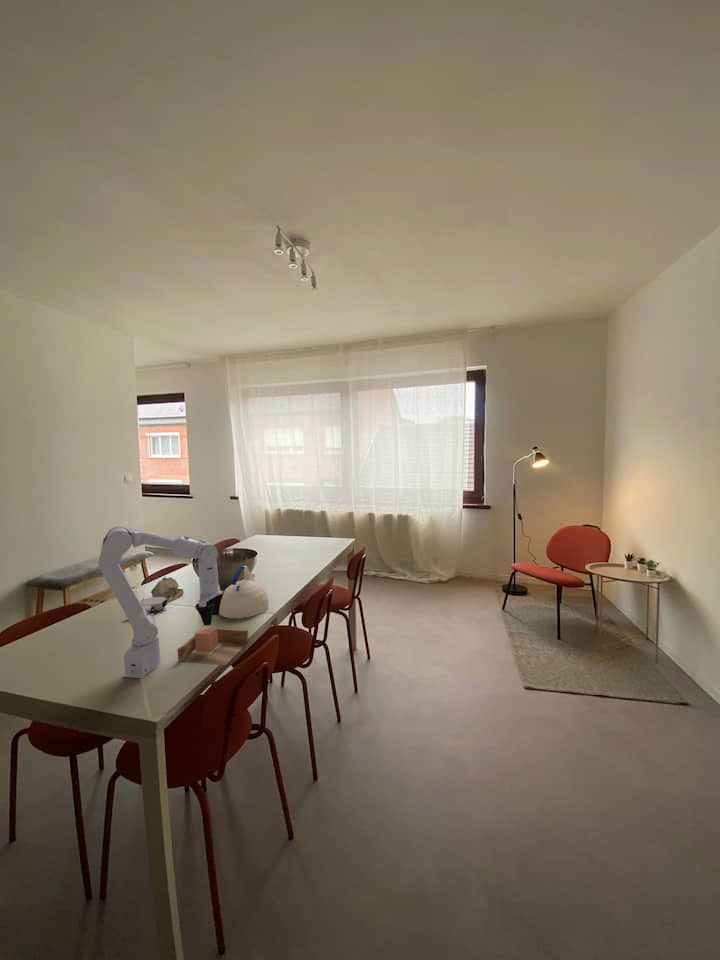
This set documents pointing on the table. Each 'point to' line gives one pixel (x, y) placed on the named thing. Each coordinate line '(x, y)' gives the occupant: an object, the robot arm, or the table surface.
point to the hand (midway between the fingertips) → (211, 619)
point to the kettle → (243, 597)
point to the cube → (206, 639)
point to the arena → (220, 655)
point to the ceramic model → (167, 589)
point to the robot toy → (154, 604)
